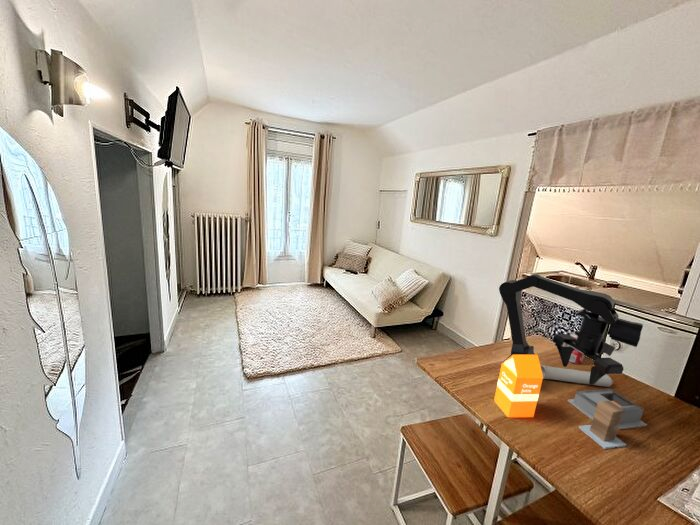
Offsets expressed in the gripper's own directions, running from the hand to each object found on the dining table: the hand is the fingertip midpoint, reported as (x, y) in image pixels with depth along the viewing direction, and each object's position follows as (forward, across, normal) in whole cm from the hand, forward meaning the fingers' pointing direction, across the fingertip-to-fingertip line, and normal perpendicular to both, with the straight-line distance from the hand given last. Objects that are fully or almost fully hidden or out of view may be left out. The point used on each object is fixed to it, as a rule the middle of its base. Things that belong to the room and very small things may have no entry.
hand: (577, 375), depth 91 cm
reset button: (+12, -4, -14) cm, 19 cm away
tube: (+13, +13, -17) cm, 25 cm away
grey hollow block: (+12, -4, -11) cm, 17 cm away
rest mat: (+12, -12, +1) cm, 17 cm away
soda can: (+13, +26, -30) cm, 42 cm away
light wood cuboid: (+12, -12, +1) cm, 17 cm away
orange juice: (+13, +1, +20) cm, 24 cm away
